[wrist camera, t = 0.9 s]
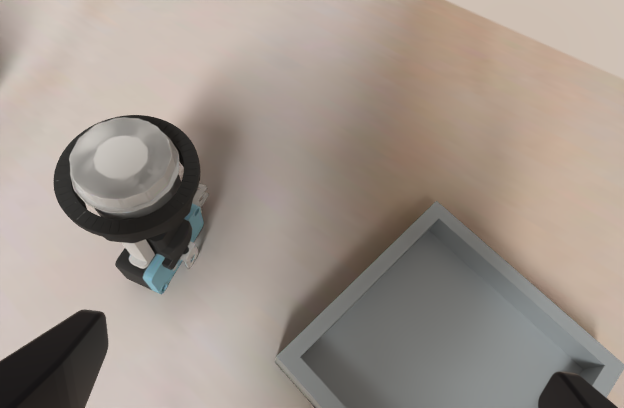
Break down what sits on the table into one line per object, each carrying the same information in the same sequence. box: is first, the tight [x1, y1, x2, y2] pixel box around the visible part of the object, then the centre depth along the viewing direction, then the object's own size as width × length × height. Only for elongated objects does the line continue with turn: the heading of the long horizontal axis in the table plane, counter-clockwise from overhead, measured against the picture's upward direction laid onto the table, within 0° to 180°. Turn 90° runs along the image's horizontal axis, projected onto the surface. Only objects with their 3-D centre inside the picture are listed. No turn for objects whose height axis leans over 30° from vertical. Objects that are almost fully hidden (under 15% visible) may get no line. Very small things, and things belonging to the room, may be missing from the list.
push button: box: [54, 115, 209, 294], centre depth 21 cm, size 7×5×10 cm
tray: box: [275, 201, 624, 408], centre depth 23 cm, size 13×13×2 cm
